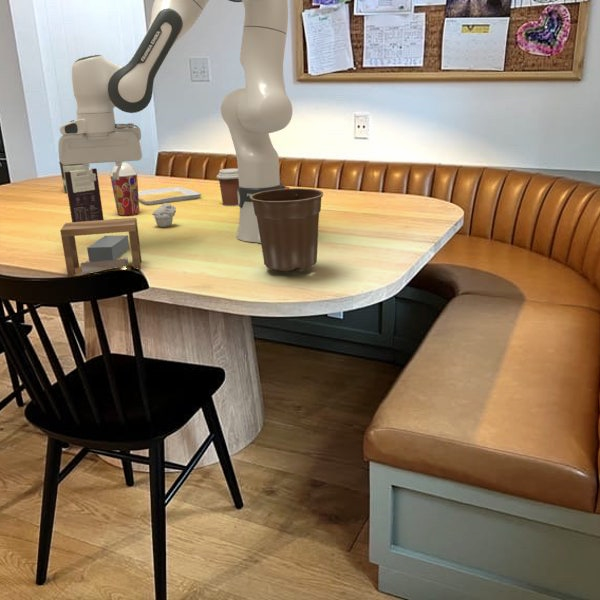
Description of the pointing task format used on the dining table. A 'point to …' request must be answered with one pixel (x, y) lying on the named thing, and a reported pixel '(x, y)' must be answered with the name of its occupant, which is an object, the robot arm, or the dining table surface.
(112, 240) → the slab
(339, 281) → the dining table surface
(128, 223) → the bench
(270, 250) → the plant pot
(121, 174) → the smoothie
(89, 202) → the chocolate bar
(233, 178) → the coffee cup
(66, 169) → the coffee can
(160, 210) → the grey lumpy rounded piece
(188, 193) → the salad plate
